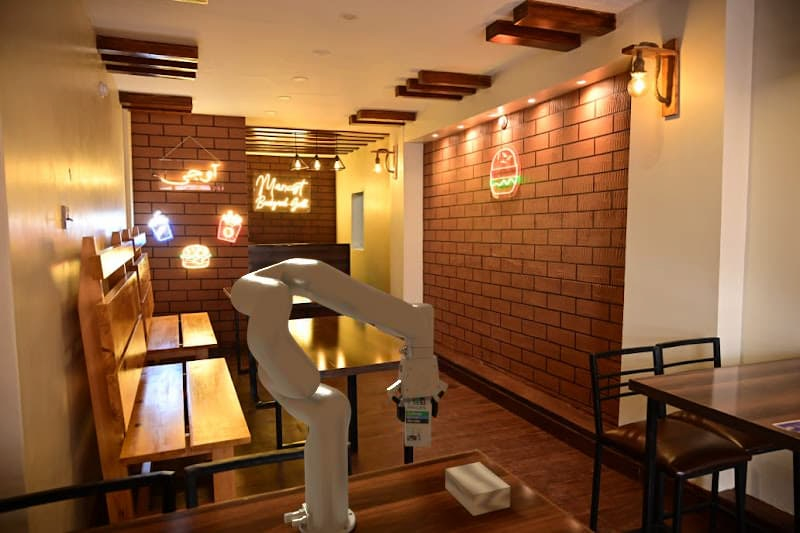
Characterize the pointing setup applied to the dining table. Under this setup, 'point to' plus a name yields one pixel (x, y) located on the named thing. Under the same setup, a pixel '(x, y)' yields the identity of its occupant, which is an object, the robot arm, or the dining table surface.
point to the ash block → (477, 488)
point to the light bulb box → (418, 422)
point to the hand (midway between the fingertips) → (417, 418)
